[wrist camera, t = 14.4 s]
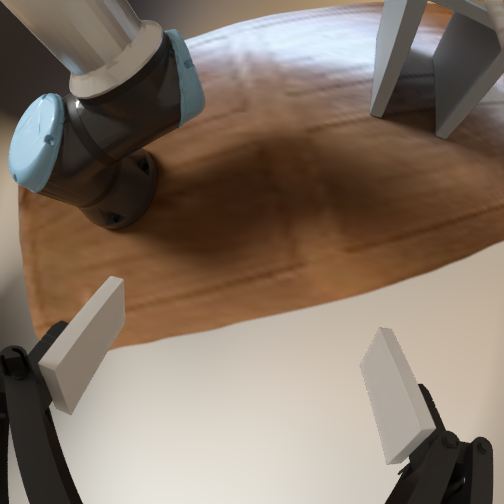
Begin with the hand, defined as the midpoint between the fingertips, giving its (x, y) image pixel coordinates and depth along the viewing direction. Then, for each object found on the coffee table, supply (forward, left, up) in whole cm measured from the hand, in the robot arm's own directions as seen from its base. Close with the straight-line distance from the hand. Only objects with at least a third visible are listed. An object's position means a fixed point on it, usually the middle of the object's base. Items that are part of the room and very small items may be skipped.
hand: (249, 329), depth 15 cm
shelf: (+4, +44, -29) cm, 53 cm away
